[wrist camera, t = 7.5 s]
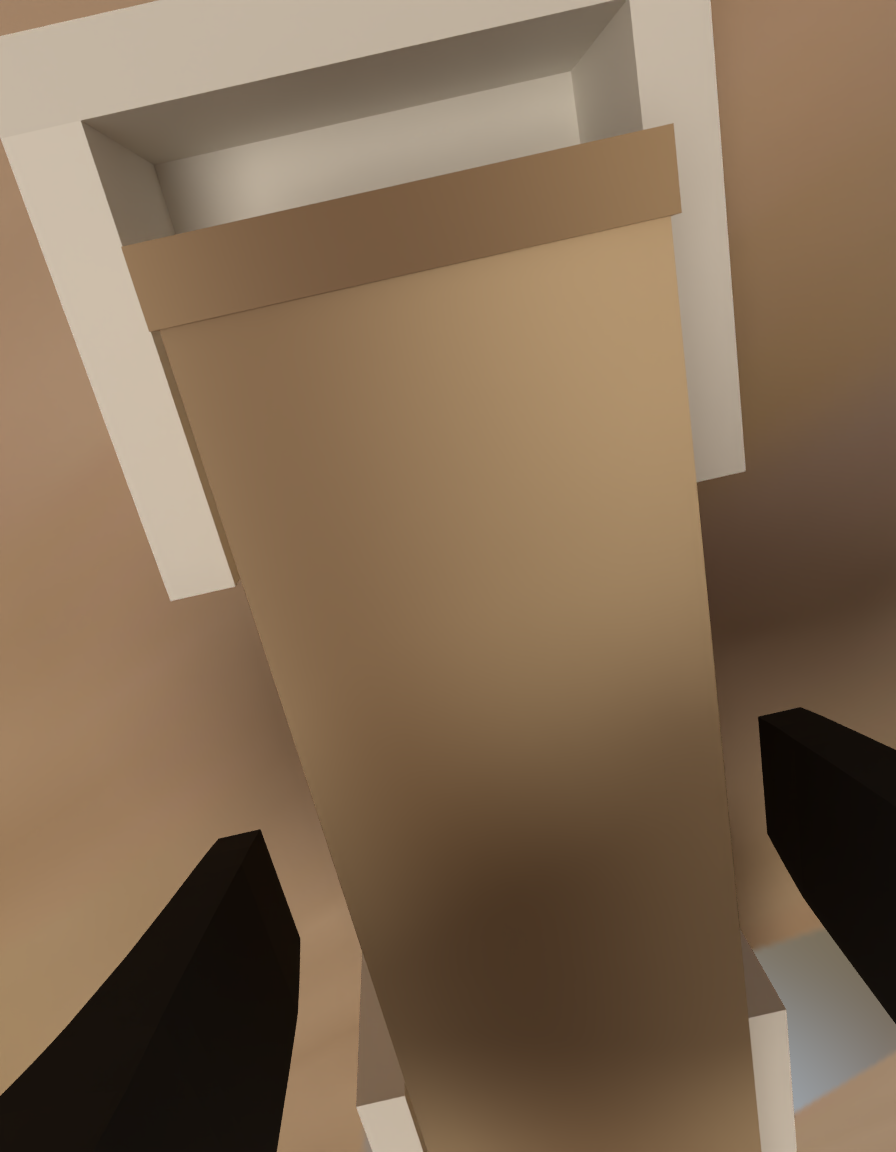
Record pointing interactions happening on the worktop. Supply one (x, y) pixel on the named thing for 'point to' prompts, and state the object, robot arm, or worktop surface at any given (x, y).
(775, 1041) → the cup bracket
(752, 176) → the worktop surface
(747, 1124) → the oak rail
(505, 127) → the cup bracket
